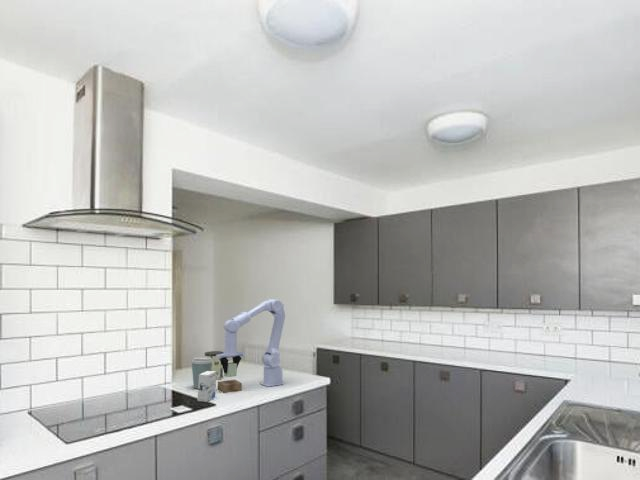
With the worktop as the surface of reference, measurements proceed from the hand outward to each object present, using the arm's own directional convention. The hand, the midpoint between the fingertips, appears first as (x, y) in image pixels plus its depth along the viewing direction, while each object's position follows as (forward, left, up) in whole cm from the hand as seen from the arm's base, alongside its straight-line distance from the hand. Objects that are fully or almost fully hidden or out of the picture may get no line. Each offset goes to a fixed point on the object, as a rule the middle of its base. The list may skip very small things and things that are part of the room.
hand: (230, 372), depth 211 cm
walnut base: (0, 0, -9) cm, 9 cm away
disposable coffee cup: (+9, -13, -9) cm, 18 cm away
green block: (0, 0, -2) cm, 2 cm away
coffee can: (-5, -29, -9) cm, 31 cm away
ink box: (+16, +9, -9) cm, 20 cm away
